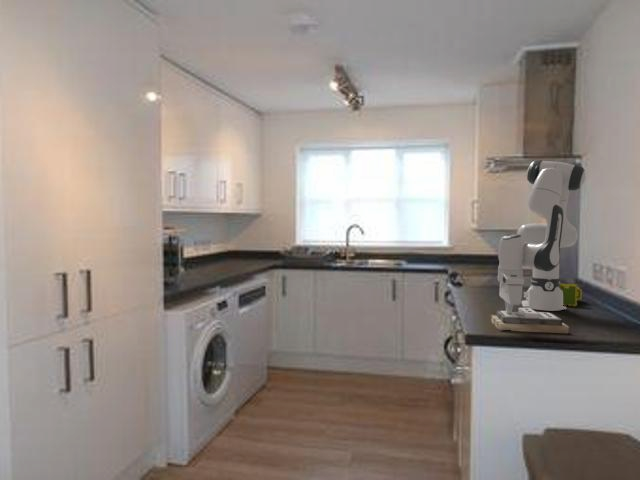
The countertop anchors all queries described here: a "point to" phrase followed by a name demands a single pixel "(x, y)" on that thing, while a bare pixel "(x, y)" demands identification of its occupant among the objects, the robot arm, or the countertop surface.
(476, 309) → the countertop surface
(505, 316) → the key one
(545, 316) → the key three
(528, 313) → the key two
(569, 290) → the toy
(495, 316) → the key panel
